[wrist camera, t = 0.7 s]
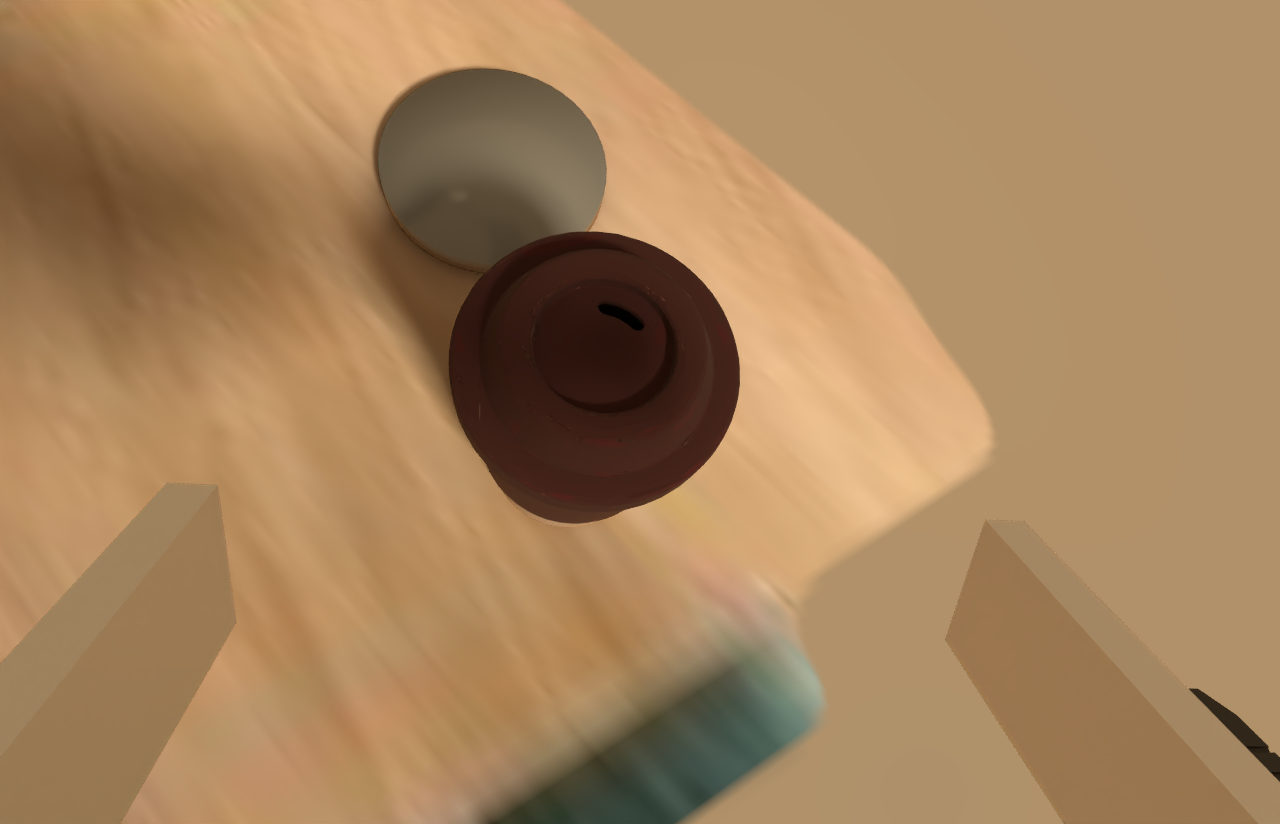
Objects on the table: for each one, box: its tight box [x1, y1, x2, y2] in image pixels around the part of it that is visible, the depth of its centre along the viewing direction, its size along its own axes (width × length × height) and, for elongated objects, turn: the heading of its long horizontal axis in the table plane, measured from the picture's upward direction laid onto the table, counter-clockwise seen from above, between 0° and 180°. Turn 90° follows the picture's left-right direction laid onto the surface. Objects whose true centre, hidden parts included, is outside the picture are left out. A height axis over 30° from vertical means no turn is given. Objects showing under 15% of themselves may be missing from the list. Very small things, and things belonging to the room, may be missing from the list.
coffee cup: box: [449, 231, 740, 527], centre depth 32 cm, size 10×10×15 cm
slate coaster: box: [378, 69, 606, 273], centre depth 42 cm, size 12×12×1 cm
